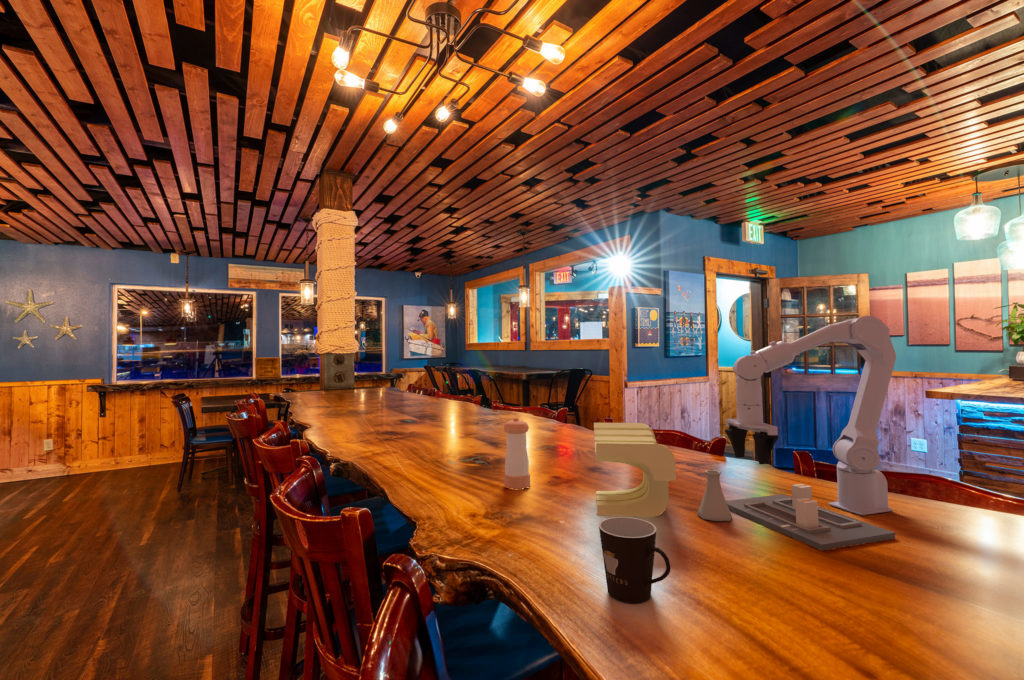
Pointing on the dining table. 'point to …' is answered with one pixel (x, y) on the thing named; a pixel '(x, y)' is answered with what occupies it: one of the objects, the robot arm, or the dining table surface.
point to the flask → (714, 500)
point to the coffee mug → (630, 558)
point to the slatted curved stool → (640, 451)
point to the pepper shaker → (516, 455)
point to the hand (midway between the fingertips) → (751, 460)
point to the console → (828, 535)
